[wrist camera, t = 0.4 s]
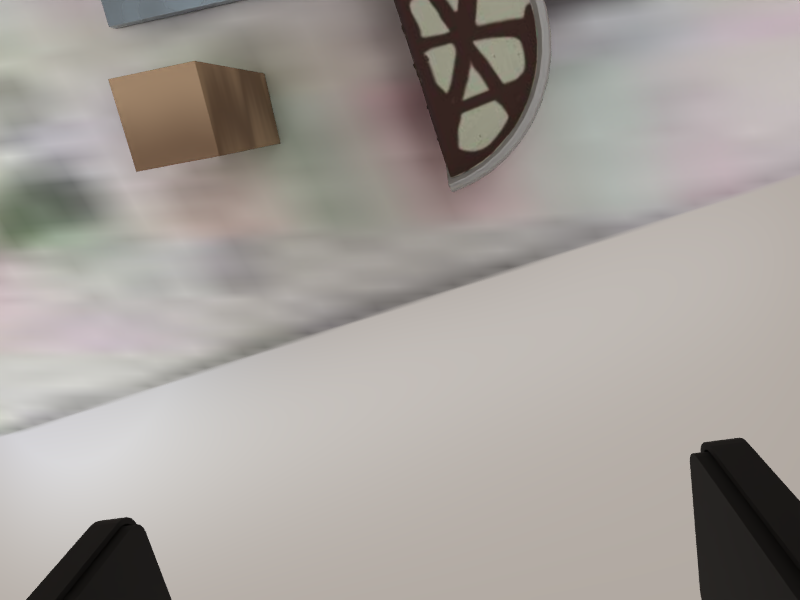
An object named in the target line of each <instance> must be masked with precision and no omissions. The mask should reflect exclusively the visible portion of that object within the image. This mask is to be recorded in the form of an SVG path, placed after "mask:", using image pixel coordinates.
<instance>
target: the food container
mask: <svg viewBox="0 0 800 600" xmlns="http://www.w3.org/2000/svg"><path fill="white" fill-rule="evenodd" d="M394 2H395V5H396V8H397V11H398V14H399V17H400V20H401V23H402V30H403V32H404V34H405V36H406V39H407V42H408V45H409V49H410V52H411V55H412V58H413V61H414V64H413V66H414V68H415V69H416V71H417V75H418V77H419V80H420V83H421V86H422V89H423V93H424V96H425V99H426V103H427V109H429V113H430V116H431V119H432V122H433V125H434V129H435V132H436V135H437V140H438V141H439V144H440V147H441V151H442V154H443V157H444V160H445V162H446V168H447V176H448V184H449V187H450V189H451V191H452V192H455V191H457V190H459V189H461V188H464V187H466V186H468V185H470V184H472V183H474V182H475V181H477V180H479V179H480V178H482V177H484V176H485V175H487V174H488V173H490V172H491V171H492V170H493V169H494V168H496V167H497V166H498V165H499V164H500V163H501V162H503V161H504V160H505V159H506V158H507V157H508V156H509V155H510V153H511V152H512V151H513V150H514V149H515V148H516V146H517V145H518V144H519V143H520V142H521V140H522V139H523V137H524V136H525V134H526V132H527V131H528V129H529V128H530V126H531V124H532V123H533V121H534V118H535V116H536V114H537V112H538V109H539V107H540V105H541V103H542V100H543V96H544V93H545V89H546V85H547V82H548V77H549V69H550V62H551V31H550V25H549V19H548V14H547V8H546V5H545V2H544V0H394Z"/></svg>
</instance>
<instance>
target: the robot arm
mask: <svg viewBox="0 0 800 600" xmlns="http://www.w3.org/2000/svg"><path fill="white" fill-rule="evenodd" d="M690 469H691V480H692V493H693V507H694V519H695V532H696V545H697V557H698V569H699V582H700V593H701V598H702V600H800V501H799V500H798V499H797V498H796V496H795V495H794V494H793V493H792V492H791V491H790V490H789V489H788V487H787V486H786V485H785V484H784V483H783V482H782V481H781V480H780V478H779V477H778V476H777V475H776V474H775V473H774V472H773V471H772V470H771V468H770V467H769V466H768V465H767V464H766V463H765V462H764V460H763V459H762V458H761V457H760V456H759V455H758V454H757V453H756V451H755V450H754V449H753V448H752V447H751V446H750V445H749V444H748V443H747V442H746V441H745V440H744V439H743V438H734V439H726V440H719V441H711V442H704V443H703V444H702V445H701V453H693V454H691V456H690ZM26 600H171V597H170V595H169V592H168V589H167V587H166V584H165V582H164V579H163V576H162V574H161V571H160V568H159V566H158V563H157V561H156V558H155V555H154V553H153V550H152V547H151V545H150V542H149V539H148V537H147V534H146V532H145V530H144V528H143V527H142V526H141V525H138V524H136V522H135V521H134V520H132V518H127V517H125V518H117V519H110V520H102V521H98V522H95V523H94V524H92V525H91V526H90V527H89V528H88V530H87V531H86V532H85V533H84V534H83V535H82V537H81V538H80V539H79V540H78V541H77V542H76V543H75V545H74V546H73V547H72V548H71V549H70V550H69V551H68V552H67V554H66V555H65V556H64V557H63V558H62V559H61V560H60V562H59V563H58V564H57V565H56V566H55V567H54V569H53V570H52V571H51V572H50V573H49V574H48V575H47V576H46V578H45V579H44V580H43V581H42V582H41V583H40V584H39V586H38V587H37V588H36V589H35V590H34V591H33V592H32V594H31V595H30V596H29V597H28V598H27V599H26Z"/></svg>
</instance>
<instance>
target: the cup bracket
mask: <svg viewBox="0 0 800 600" xmlns="http://www.w3.org/2000/svg"><path fill="white" fill-rule="evenodd" d="M101 1H102V5H103V8H104V12H105V15H106V18H107V22H108V25H109V27H112V28H121V27H125V26H130V25H134V24H139V23H143V22H148V21H152V20H156V19H161V18H165V17H170V16H174V15H179V14H183V13H188V12H192V11H196V10H201V9H205V8H210V7H214V6H219V5H223V4H228V3H232V2H236V1H241V0H101Z"/></svg>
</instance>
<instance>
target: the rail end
mask: <svg viewBox="0 0 800 600" xmlns="http://www.w3.org/2000/svg"><path fill="white" fill-rule="evenodd" d="M108 80H109V83H110V86H111V90H112V93H113V96H114V100H115V103H116V106H117V109H118V113H119V116H120V119H121V123H122V126H123V129H124V132H125V136H126V139H127V142H128V146H129V149H130V152H131V156H132V159H133V162H134V165H135V169H136V172H137V171H143V170H148V169H153V168H158V167H164V166H169V165H174V164H179V163H185V162H190V161H195V160H201V159H206V158H211V157H216V156H221V155H226V154H231V153H236V152H241V151H246V150H250V149H255V148H260V147H265V146H270V145H275V144H280V139H279V135H278V131H277V126H276V122H275V118H274V113H273V109H272V105H271V100H270V96H269V92H268V88H267V83H266V79H265V75H264V73H258V72H253V71H247V70H242V69H236V68H230V67H225V66H219V65H214V64H208V63H203V62H197V61H192V62H187V63H183V64H178V65H173V66H169V67H164V68H159V69H155V70H150V71H145V72H141V73H136V74H131V75H126V76H122V77H117V78H112V79H108Z"/></svg>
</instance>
